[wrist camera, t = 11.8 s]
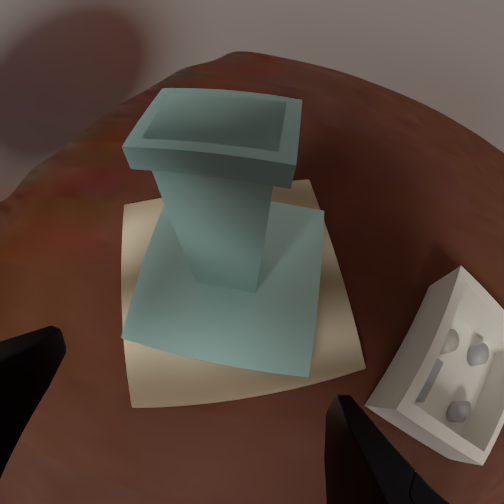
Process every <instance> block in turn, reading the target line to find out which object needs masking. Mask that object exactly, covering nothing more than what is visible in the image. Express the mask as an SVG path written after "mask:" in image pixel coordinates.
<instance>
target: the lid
mask: <svg viewBox="0 0 504 504" xmlns="http://www.w3.org/2000/svg"><path fill="white" fill-rule="evenodd" d="M301 109H302V100H299V99H293V98H287V97H281V96H274V95H267V94H260V93H251V92H242V91H231V90H217V89H196V88H163V89H162V90H161V91H160V92H159V94H158V95H157V96H156V98H155V99H154V100H153V102H152V103H151V104H150V106H149V107H148V109H147V110H146V111H145V113H144V114H143V116H142V117H141V118H140V120H139V121H138V123H137V124H136V126H135V127H134V129H133V130H132V132H131V133H130V135H129V136H128V138H127V139H126V141H125V143H124V144H123V146H122V149H123V151H124V154H125V156H126V158H127V161H128V163H129V166H130V168H131V169H140V170H152V172H153V175H154V177H155V180H156V183H157V186H158V188H159V191H160V194H161V196H162V199H163V202H164V206H163V208H162V211H161V213H160V216H159V219H158V221H157V224H156V227H155V229H154V232H153V235H152V237H151V240H150V243H149V246H148V249H147V252H146V255H145V258H144V261H143V264H142V267H141V270H140V273H139V276H138V279H137V282H136V286H135V289H134V292H133V296H132V299H131V303H130V306H129V310H128V313H127V317H126V321H125V324H124V328H123V332H122V336H121V338H122V339H125V340H128V341H131V342H134V343H137V344H141V345H144V346H147V347H151V348H154V349H158V350H162V351H166V352H169V353H173V354H177V355H181V356H185V357H189V358H194V359H198V360H202V361H207V362H212V363H216V364H221V365H226V366H232V367H237V368H243V369H248V370H254V371H261V372H267V373H274V374H282V375H289V376H298V377H309V372H310V365H311V358H312V350H313V342H314V334H315V326H316V317H317V308H318V297H319V287H320V275H321V262H322V247H323V229H324V211H322V210H317V209H312V208H307V207H301V206H296V205H291V204H285V203H279V202H273V201H271V198H272V192H273V186H276V187H281V188H287V189H291V185H292V181H293V177H294V173H295V169H296V163H297V153H298V143H299V132H300V121H301Z"/></svg>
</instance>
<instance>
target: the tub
mask: <svg viewBox="0 0 504 504" xmlns="http://www.w3.org/2000/svg"><path fill="white" fill-rule="evenodd" d="M364 406H366V407H367V408H369V409H370V410H372V411H373V412H375V413H376V414H378V415H379V416H381V417H382V418H384V419H385V420H387V421H388V422H390V423H391V424H393V425H394V426H396V427H397V428H399V429H400V430H402V431H404V432H405V433H407V434H408V435H410V436H411V437H413V438H415V439H416V440H418V441H420V442H421V443H423V444H424V445H426V446H428V447H429V448H431V449H433V450H434V451H436V452H438V453H439V454H441V455H443V456H445V457H446V458H448V459H451V460H456V461H461V462H466V463H471V464H477V465H483V464H484V463H485V461H486V459H487V457H488V455H489V453H490V451H491V449H492V447H493V445H494V443H495V441H496V439H497V437H498V435H499V433H500V430H501V428H502V426H503V424H504V310H503V308H502V307H501V306H500V305H499V304H498V303H497V302H496V301H495V300H494V298H493V297H492V296H491V295H490V294H489V293H488V292H487V291H486V290H485V289H484V288H483V287H482V286H481V285H480V284H479V283H478V282H477V281H476V280H475V279H474V278H473V277H472V276H471V275H470V274H469V273H468V272H467V271H466V270H465V269H464V268H463V267H462V266H459V267H458V268H456V269H455V270H454V271H452V272H451V273H449V274H447V275H446V276H444V277H443V278H441V279H440V280H438V281H437V282H435V283H433V284H432V285H430V286H429V287H428V290H427V292H426V295H425V297H424V299H423V301H422V304H421V306H420V308H419V310H418V312H417V314H416V317H415V319H414V321H413V323H412V325H411V327H410V329H409V331H408V333H407V335H406V337H405V338H404V340H403V342H402V344H401V346H400V348H399V350H398V351H397V353H396V355H395V357H394V359H393V360H392V362H391V364H390V365H389V367H388V369H387V370H386V372H385V374H384V375H383V377H382V379H381V380H380V382H379V383H378V385H377V387H376V388H375V390H374V391H373V393H372V394H371V396H370V397H369V399H368V400H367V402H366V403H365V405H364Z"/></svg>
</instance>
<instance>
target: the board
mask: <svg viewBox="0 0 504 504" xmlns="http://www.w3.org/2000/svg"><path fill="white" fill-rule="evenodd" d="M271 201H273V202H279V203H285V204H291V205H296V206H301V207H307V208H312V209H317V210H320V208H319V205H318V202H317V199H316V197H315V194H314V191H313V188H312V186H311V183H310V180H309V179H308V180H296V181H292V185H291V189H287V188H281V187H276V186H273V192H272V198H271ZM163 206H164V202H163V199H162V198H159V199H153V200H147V201H142V202H137V203H132V204H127V205H124V216H123V232H122V260H121V294H122V321H123V328H124V324H125V321H126V317H127V313H128V310H129V306H130V303H131V299H132V296H133V292H134V289H135V286H136V282H137V279H138V276H139V273H140V270H141V267H142V264H143V261H144V258H145V255H146V252H147V249H148V246H149V243H150V240H151V237H152V235H153V232H154V229H155V227H156V224H157V221H158V219H159V216H160V213H161V211H162V208H163ZM124 349H125V359H126V369H127V377H128V385H129V392H130V398H131V405H132V408H149V407H171V406H185V405H197V404H206V403H215V402H223V401H230V400H237V399H243V398H250V397H255V396H261V395H266V394H271V393H276V392H281V391H286V390H290V389H295V388H299V387H303V386H307V385H311V384H315V383H319V382H323V381H326V380H330V379H334V378H337V377H340V376H344V375H347V374H350V373H353V372H357V371H360V370H363V369H366V367H365V363H364V358H363V354H362V350H361V345H360V341H359V337H358V333H357V329H356V325H355V321H354V317H353V314H352V310H351V306H350V303H349V299H348V295H347V292H346V288H345V285H344V281H343V278H342V275H341V271H340V268H339V265H338V262H337V258H336V255H335V252H334V249H333V246H332V243H331V240H330V237H329V234H328V231H327V228H326V225H325V222H324V229H323V247H322V262H321V275H320V287H319V297H318V308H317V317H316V326H315V334H314V342H313V350H312V358H311V365H310V372H309V377H298V376H289V375H282V374H274V373H267V372H261V371H254V370H248V369H243V368H237V367H232V366H226V365H221V364H216V363H212V362H207V361H202V360H198V359H194V358H189V357H185V356H181V355H177V354H173V353H169V352H166V351H162V350H158V349H154V348H151V347H147V346H144V345H141V344H137V343H134V342H131V341H128V340H125V339H124Z"/></svg>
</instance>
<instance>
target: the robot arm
mask: <svg viewBox="0 0 504 504" xmlns="http://www.w3.org/2000/svg"><path fill="white" fill-rule="evenodd" d="M65 354H66V345H65V341H64V338H63V334H62V331H61V330H60V329H59V328H56V327H54V326H48V327H45V328H42V329H39V330H36V331H33V332H29V333H26V334H23V335H20V336H17V337H14V338H10V339H7V340H4V341H1V342H0V478H1V476H2V473H3V471H4V469H5V467H6V466H5V465H6V464H7V462H8V460H9V458H10V456H11V454H12V452H13V450H14V448H15V446H16V444H17V442H18V440H19V438H20V436H21V434H22V432H23V430H24V429H25V427H26V425H27V423H28V421H29V419H30V418H31V416H32V414H33V412H34V411H35V409H36V407H37V406H38V404H39V402H40V400H41V399H42V397H43V395H44V394H45V392H46V391H47V389H48V387H49V385H50V383H51V381H52V379H53V377H54V375H55V373H56V371H57V369H58V367H59V365H60V363H61V361H62V360H63V358H64V356H65ZM324 461H325V477H326V494H327V504H449V503H448V502H447V501H446V500H444V499H443V498H442V497H441V496H440V495H439V494H438V493H437V492H436V491H434V490H433V489H432V488H431V487H430V486H429V485H428V483H427V482H426V481H425V480H424V479H423V478H422V477H421V476H420V475H419V474H418V473H417V472H415V469H414V468H413V467H412V466H411V465H410V464H409V463H408V461H407V460H406V459H405V458H404V457H403V456H402V455H401V454H400V452H399V451H398V450H397V449H396V448H395V447H394V446H393V444H392V443H391V442H390V441H389V440H388V439H387V438H386V436H385V435H384V434H383V433H382V432H381V431H380V429H379V428H378V427H377V426H376V425H375V424H374V423H373V421H372V420H371V419H370V418H369V417H368V416H367V414H366V413H365V412H364V411H363V410H362V409H361V407H360V406H359V405H358V404H357V403H356V402H355V400H354V399H353V398H352V397H351V396H350V395H342V394H338V395H336V396H335V398H334V399H333V401H332V403H331V405H330V407H329V409H328V411H327V414H326V432H325V455H324Z"/></svg>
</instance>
